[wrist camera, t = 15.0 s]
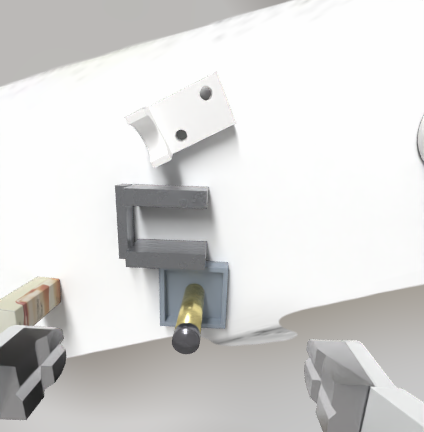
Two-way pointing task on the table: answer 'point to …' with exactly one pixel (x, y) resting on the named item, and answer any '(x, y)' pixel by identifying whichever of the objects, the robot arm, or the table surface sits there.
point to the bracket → (182, 119)
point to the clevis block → (150, 248)
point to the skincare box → (29, 302)
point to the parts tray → (213, 298)
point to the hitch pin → (189, 320)
